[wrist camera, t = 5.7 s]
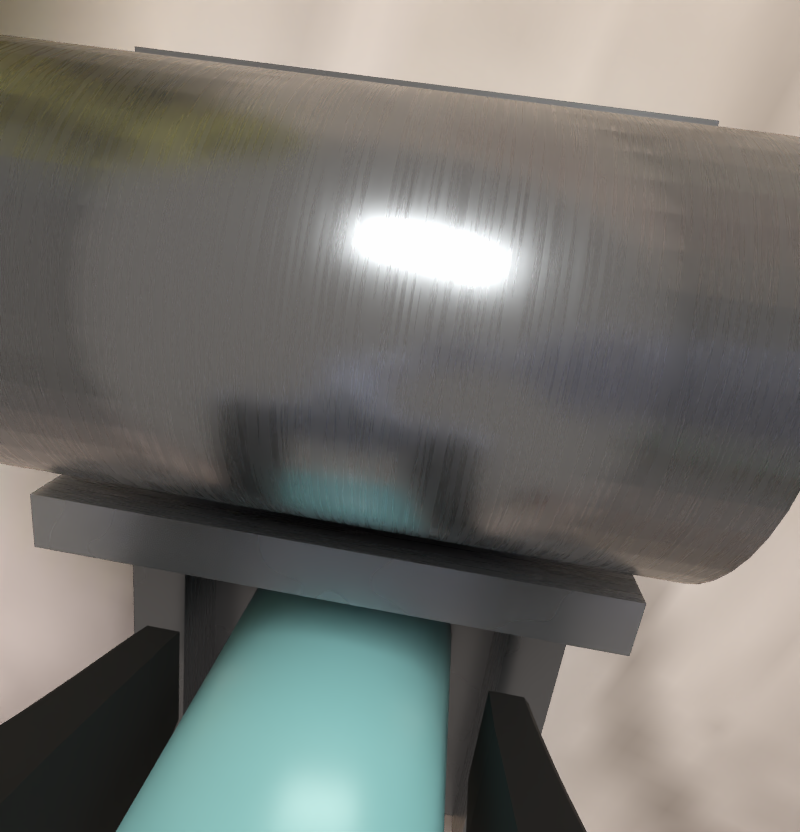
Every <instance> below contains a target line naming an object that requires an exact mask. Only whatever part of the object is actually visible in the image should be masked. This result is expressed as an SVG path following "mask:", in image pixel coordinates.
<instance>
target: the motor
mask: <svg viewBox="0 0 800 832" xmlns="http://www.w3.org/2000/svg"><path fill="white" fill-rule="evenodd" d="M718 124H719V121H716V120H709V119H701V118H693V117H685V116H677V115H669V114H661V113H654V112H646V111H638V110H630V109H622V108H614V107H606V106H599V105H591V104H583V103H575V102H567V101H559V100H551V99H543V98H536V97H528V96H520V95H512V94H504V93H496V92H488V91H481V90H473V89H465V88H457V87H449V86H441V85H433V84H426V83H418V82H410V81H402V80H394V79H386V78H378V77H371V76H363V75H355V74H347V73H339V72H331V71H323V70H315V69H308V68H300V67H292V66H284V65H276V64H268V63H260V62H253V61H245V60H237V59H229V58H221V57H213V56H205V55H198V54H190V53H182V52H174V51H166V50H158V49H150V48H143V47H135V52H133V51H125V50H117V49H109V48H102V47H94V46H86V45H78V44H70V43H62V42H55V41H47V40H39V39H31V38H23V37H15V36H6V35H0V463H1V464H6V465H12V466H18V467H24V468H29V469H35V470H41V471H46V472H52V473H58V474H62V475H60V476H59V477H57V478H55V479H54V480H52V481H51V482H49V483H47V484H46V485H44V486H43V487H41V488H39V489H38V490H36V491H34V492H33V493H31V494H30V497H31V509H32V521H33V533H34V545H35V547H39V548H44V549H50V550H55V551H61V552H66V553H72V554H77V555H83V556H88V557H93V558H99V559H104V560H110V561H115V562H121V563H126V564H131V565H133V584H134V634H135V633H137V632H138V631H140V630H141V629H143V628H144V627H146V626H147V625H148V626H153V627H158V628H163V629H169V630H174V631H179V632H180V649H179V720H178V723H177V725H176V727H177V726H178V724H179V722H180V721H181V719H182V717H183V715H184V714H185V712H186V710H187V709H188V707H189V705H190V703H191V702H192V700H193V698H194V697H195V695H196V693H197V691H198V690H199V688H200V686H201V685H202V683H203V681H204V679H205V678H206V676H207V674H208V673H209V671H210V669H211V667H212V666H213V664H214V662H215V660H216V659H217V657H218V655H219V654H220V652H221V650H222V648H223V647H224V645H225V643H226V642H227V640H228V638H229V636H230V635H231V633H232V631H233V630H234V628H235V626H236V624H237V623H238V621H239V619H240V618H241V616H242V614H243V612H244V611H245V609H246V607H247V606H248V604H249V602H250V600H251V599H252V597H253V595H254V594H255V592H256V590H257V588H262V589H267V590H273V591H278V592H284V593H289V594H294V595H300V596H305V597H311V598H316V599H322V600H327V601H332V602H338V603H343V604H349V605H354V606H360V607H365V608H370V609H376V610H381V611H387V612H392V613H398V614H403V615H408V616H414V617H419V618H425V619H430V620H436V621H441V622H446V623H450V626H451V634H452V639H451V664H450V689H449V715H448V740H447V765H446V790H445V814H447V815H452V832H466V820H467V796H468V777H469V773H470V768H471V764H472V760H473V756H474V751H475V747H476V743H477V738H478V734H479V730H480V726H481V721H482V717H483V713H484V708H485V704H486V700H487V695H488V691H494V692H499V693H505V694H510V695H515V696H520V697H524V698H525V699H526V701H527V702H528V703H529V706H530V708H531V711H532V714H533V716H534V719H535V721H536V724H537V726H538V729H539V731H540V733H542V729H543V725H544V722H545V718H546V715H547V711H548V708H549V704H550V700H551V697H552V693H553V690H554V686H555V682H556V679H557V675H558V672H559V668H560V665H561V661H562V657H563V654H564V650H565V647H566V645H571V646H577V647H582V648H588V649H593V650H599V651H604V652H609V653H615V654H620V655H626V656H630V652H631V649H632V646H633V643H634V640H635V637H636V634H637V631H638V628H639V625H640V622H641V619H642V616H643V613H644V609H645V606H646V602H645V600H644V598H643V596H642V594H641V592H640V590H639V587H638V585H637V583H636V581H635V579H634V577H633V575H639V576H645V577H650V578H656V579H662V580H667V581H673V582H679V583H684V584H701V583H705V582H710V581H714V580H716V579H718V578H720V577H722V576H724V575H726V574H728V573H730V572H732V571H733V570H734V569H736V568H737V567H738V566H740V565H741V564H742V563H744V562H745V561H746V560H747V559H749V558H750V557H751V556H752V555H753V554H754V553H755V552H756V551H757V550H758V548H759V547H760V546H761V545H762V544H763V543H764V542H765V541H766V540H767V539H768V538H769V537H770V535H771V534H772V533H773V531H774V530H775V528H776V527H777V526H778V524H779V523H780V522H781V520H782V519H783V517H784V516H785V515H786V513H787V512H788V510H789V509H790V507H791V505H792V503H793V502H794V500H795V498H796V496H797V495H798V493H799V491H800V137H796V136H790V135H782V134H775V133H767V132H759V131H751V130H743V129H736V128H728V127H720V126H718ZM632 574H633V575H632ZM176 727H175V729H176ZM175 729H174V731H175ZM174 731H173V733H174Z"/></svg>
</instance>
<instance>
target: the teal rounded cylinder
mask: <svg viewBox="0 0 800 832" xmlns="http://www.w3.org/2000/svg"><path fill="white" fill-rule="evenodd" d="M451 639H452V634H451V626H450V623H446V622H441V621H436V620H430V619H425V618H419V617H414V616H408V615H403V614H398V613H392V612H387V611H381V610H376V609H370V608H365V607H360V606H354V605H349V604H343V603H338V602H332V601H327V600H322V599H316V598H311V597H305V596H300V595H294V594H289V593H284V592H278V591H273V590H267V589H262V588H257V590H256V592H255V594H254V595H253V597H252V599H251V600H250V602H249V604H248V606H247V607H246V609H245V611H244V612H243V614H242V616H241V618H240V619H239V621H238V623H237V624H236V626H235V628H234V630H233V631H232V633H231V635H230V636H229V638H228V640H227V642H226V643H225V645H224V647H223V648H222V650H221V652H220V654H219V655H218V657H217V659H216V660H215V662H214V664H213V666H212V667H211V669H210V671H209V673H208V674H207V676H206V678H205V679H204V681H203V683H202V685H201V686H200V688H199V690H198V691H197V693H196V695H195V697H194V698H193V700H192V702H191V703H190V705H189V707H188V709H187V710H186V712H185V714H184V715H183V717H182V719H181V721H180V722H179V724H178V726H177V727H176V729H175V731H174V733H173V734H172V736H171V738H170V739H169V741H168V743H167V745H166V746H165V748H164V750H163V751H162V753H161V755H160V757H159V758H158V760H157V762H156V764H155V765H154V767H153V769H152V770H151V772H150V774H149V776H148V777H147V779H146V781H145V782H144V784H143V786H142V788H141V789H140V791H139V793H138V794H137V796H136V798H135V800H134V801H133V803H132V805H131V806H130V808H129V810H128V812H127V813H126V815H125V817H124V818H123V820H122V822H121V824H120V825H119V827H118V829H117V830H116V832H444V815H445V790H446V765H447V740H448V715H449V689H450V664H451Z"/></svg>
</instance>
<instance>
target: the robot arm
mask: <svg viewBox="0 0 800 832" xmlns="http://www.w3.org/2000/svg"><path fill="white" fill-rule="evenodd" d="M179 649H180V632H179V631H174V630H169V629H163V628H158V627H153V626H148V625H147V626H146V627H144V628H143V629H141V630H140V631H138V632H137V633H135V634H134V635H132V636H131V637H129V638H128V639H126V640H125V641H124V642H122V643H121V644H119V645H118V646H116V647H115V648H114V649H112V650H111V651H109V652H108V653H106V654H105V655H104V656H102V657H101V658H99V659H98V660H96V661H95V662H94V663H92V664H91V665H89V666H88V667H86V668H85V669H84V670H82V671H81V672H79V673H78V674H76V675H75V676H74V677H72V678H71V679H69V680H68V681H66V682H65V683H63V684H62V685H60V686H59V687H57V688H56V689H54V690H53V691H51V692H50V693H48V694H47V695H46V696H44V697H43V698H41V699H40V700H38V701H37V702H35V703H34V704H32V705H31V706H29V707H28V708H26V709H25V710H23V711H22V712H20V713H19V714H17V715H16V716H14V717H12V718H11V719H9V720H8V721H6V722H4V723H3V724H1V725H0V832H116V830H117V829H118V827H119V825H120V824H121V822H122V820H123V818H124V817H125V815H126V813H127V812H128V810H129V808H130V806H131V805H132V803H133V801H134V800H135V798H136V796H137V794H138V793H139V791H140V789H141V788H142V786H143V784H144V782H145V781H146V779H147V777H148V776H149V774H150V772H151V770H152V769H153V767H154V765H155V764H156V762H157V760H158V758H159V757H160V755H161V753H162V751H163V750H164V748H165V746H166V745H167V743H168V741H169V739H170V738H171V736H172V734H173V731H174V729H175V727H176V725H177V723H178V720H179ZM466 832H586V830H585V828H584V826H583V824H582V822H581V820H580V818H579V816H578V814H577V812H576V810H575V808H574V806H573V804H572V802H571V800H570V798H569V796H568V794H567V791H566V789H565V787H564V785H563V783H562V781H561V779H560V777H559V774H558V772H557V770H556V768H555V766H554V763H553V761H552V759H551V757H550V754H549V752H548V750H547V748H546V745H545V743H544V741H543V738H542V736H541V733H540V731H539V729H538V726H537V724H536V721H535V719H534V716H533V714H532V711H531V708H530V706H529V703H528V702H527V701H526V699H525V698H524V697H520V696H515V695H510V694H505V693H499V692H494V691H488V695H487V700H486V704H485V708H484V713H483V717H482V721H481V726H480V730H479V734H478V738H477V743H476V747H475V751H474V756H473V760H472V764H471V768H470V773H469V777H468V796H467V820H466Z"/></svg>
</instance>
